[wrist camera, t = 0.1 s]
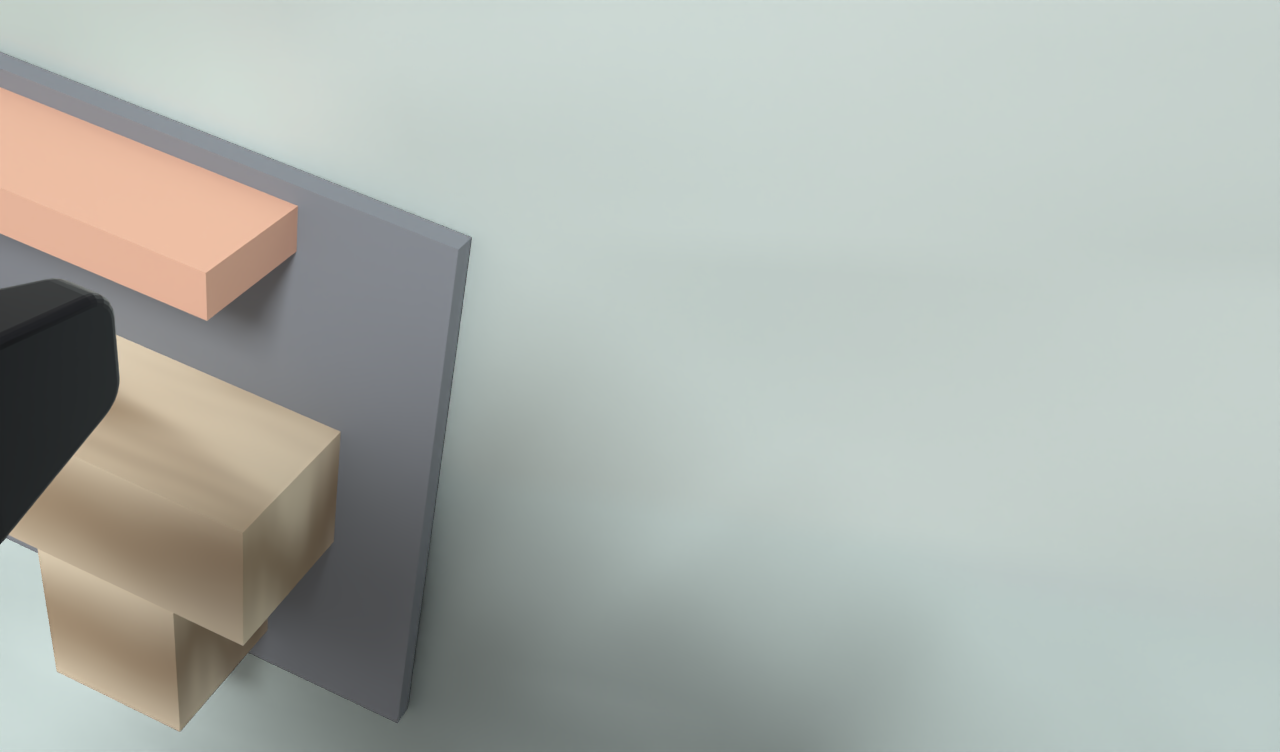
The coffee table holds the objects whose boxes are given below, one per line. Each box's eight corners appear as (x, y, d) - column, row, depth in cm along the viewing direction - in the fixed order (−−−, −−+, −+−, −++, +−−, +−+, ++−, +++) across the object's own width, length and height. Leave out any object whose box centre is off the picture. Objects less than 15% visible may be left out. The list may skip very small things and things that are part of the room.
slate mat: (407, 708, 36) (397, 723, 36) (-104, 467, 39) (-120, 478, 39) (471, 237, 26) (458, 249, 25) (-230, -39, 29) (-254, -32, 29)
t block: (326, 657, 35) (243, 763, 32) (97, 550, 37) (-4, 641, 34) (340, 431, 30) (242, 532, 27) (71, 315, 31) (-53, 398, 28)
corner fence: (285, 607, 35) (216, 688, 32) (-124, 417, 37) (-218, 479, 35) (298, 206, 26) (205, 273, 24) (-231, -5, 29) (-365, 35, 26)
